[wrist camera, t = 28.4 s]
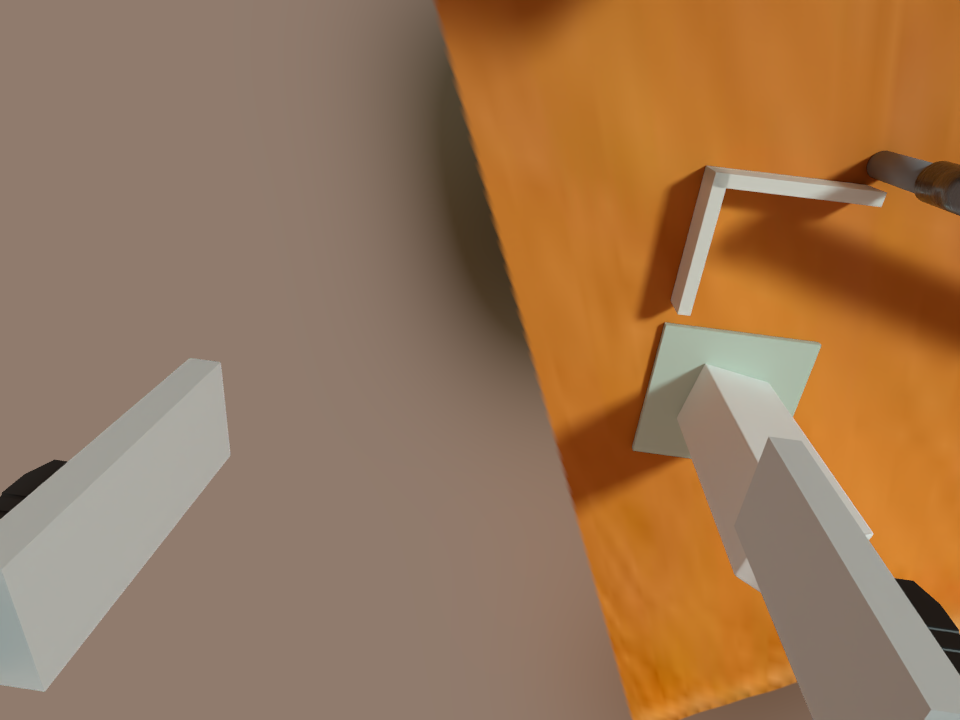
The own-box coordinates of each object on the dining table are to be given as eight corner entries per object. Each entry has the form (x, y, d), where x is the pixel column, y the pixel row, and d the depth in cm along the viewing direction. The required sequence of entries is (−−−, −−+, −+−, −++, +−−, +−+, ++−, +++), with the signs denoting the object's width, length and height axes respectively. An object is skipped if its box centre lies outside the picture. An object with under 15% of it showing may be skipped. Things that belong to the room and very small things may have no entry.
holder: (715, 130, 45) (741, 142, 39) (900, 152, 44) (956, 167, 38) (670, 300, 51) (687, 333, 45) (833, 321, 50) (872, 356, 44)
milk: (675, 417, 55) (745, 617, 35) (705, 361, 52) (798, 544, 33) (738, 436, 55) (843, 645, 36) (771, 381, 53) (903, 575, 33)
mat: (664, 322, 52) (666, 325, 51) (818, 342, 51) (821, 345, 51) (632, 446, 58) (632, 450, 57) (769, 465, 57) (771, 469, 57)
